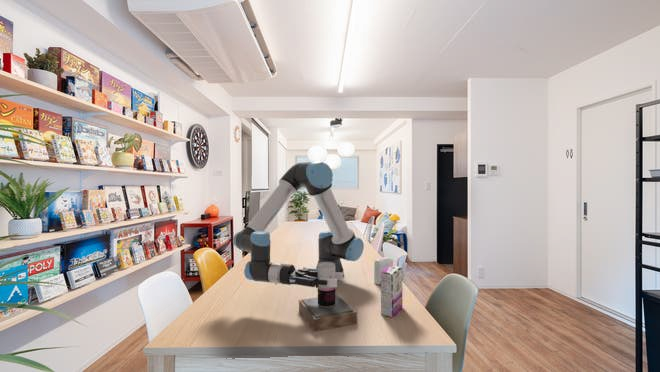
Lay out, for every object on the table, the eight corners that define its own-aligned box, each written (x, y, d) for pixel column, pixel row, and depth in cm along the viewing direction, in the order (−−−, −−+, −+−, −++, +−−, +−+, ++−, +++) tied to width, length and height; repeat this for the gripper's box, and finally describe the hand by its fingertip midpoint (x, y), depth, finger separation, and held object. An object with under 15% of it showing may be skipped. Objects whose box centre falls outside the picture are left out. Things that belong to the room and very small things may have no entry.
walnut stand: (336, 304, 127) (336, 293, 127) (357, 323, 111) (357, 310, 111) (299, 310, 121) (299, 299, 121) (314, 331, 105) (314, 318, 105)
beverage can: (333, 300, 120) (333, 261, 119) (337, 307, 113) (337, 266, 113) (316, 301, 119) (316, 262, 118) (319, 308, 112) (319, 266, 112)
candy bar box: (390, 304, 127) (391, 264, 126) (402, 307, 124) (403, 266, 124) (379, 315, 117) (380, 271, 117) (392, 318, 115) (392, 273, 114)
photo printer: (388, 279, 159) (388, 255, 159) (394, 281, 155) (394, 256, 155) (372, 283, 153) (373, 258, 153) (378, 285, 150) (379, 259, 149)
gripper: (293, 275, 131) (346, 281, 124) (270, 292, 112) (331, 300, 105) (293, 258, 131) (346, 262, 124) (270, 271, 112) (331, 277, 105)
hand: (339, 279), depth 114 cm, fingers open, 7 cm apart
